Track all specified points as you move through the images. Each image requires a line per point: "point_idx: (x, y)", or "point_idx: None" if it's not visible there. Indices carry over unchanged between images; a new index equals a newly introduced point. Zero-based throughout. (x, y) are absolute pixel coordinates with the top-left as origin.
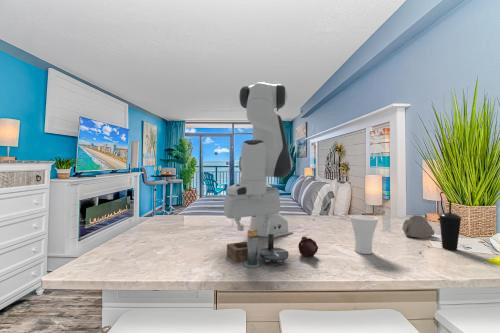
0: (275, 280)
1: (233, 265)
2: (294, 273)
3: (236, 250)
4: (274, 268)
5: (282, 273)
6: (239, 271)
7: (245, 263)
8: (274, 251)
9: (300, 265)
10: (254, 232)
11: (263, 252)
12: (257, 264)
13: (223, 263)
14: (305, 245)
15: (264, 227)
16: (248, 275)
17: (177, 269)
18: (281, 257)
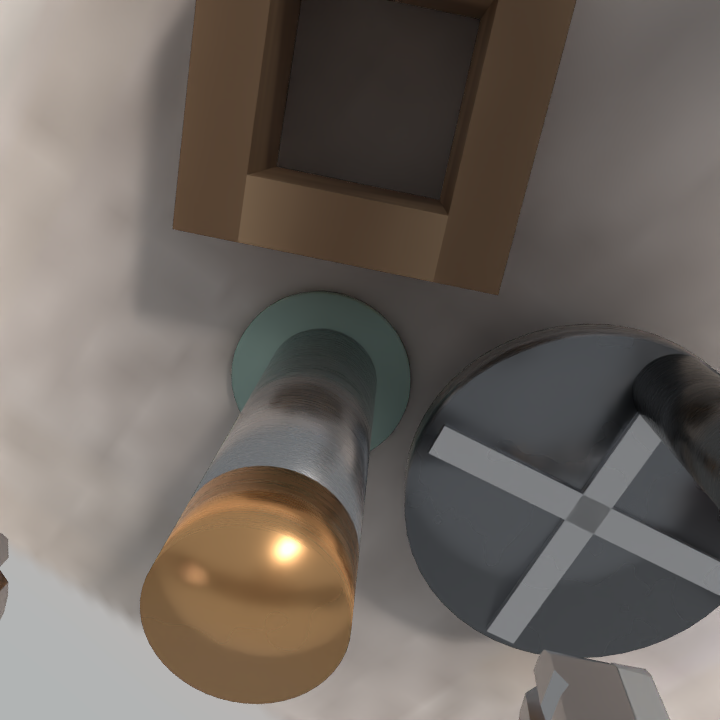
0: (272, 706)
1: (145, 276)
2: (489, 716)
3: (182, 230)
4: None
5: (410, 664)
6: (121, 428)
7: (259, 342)
8: (590, 520)
9: (682, 654)
10: (221, 687)
11: (456, 464)
12: None
13: (76, 159)
14: None
15: (528, 711)
16: (146, 534)
17: None
18: (524, 646)
